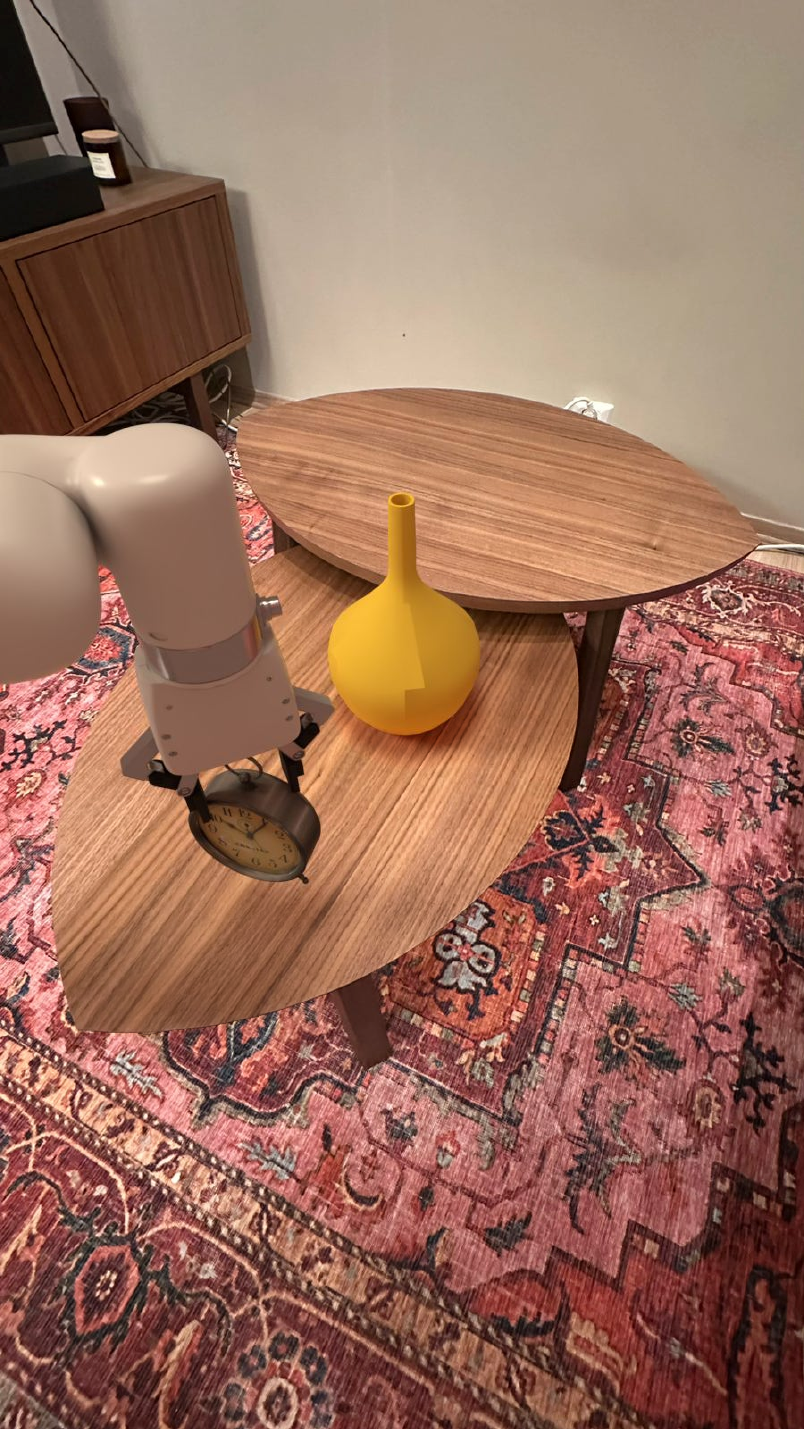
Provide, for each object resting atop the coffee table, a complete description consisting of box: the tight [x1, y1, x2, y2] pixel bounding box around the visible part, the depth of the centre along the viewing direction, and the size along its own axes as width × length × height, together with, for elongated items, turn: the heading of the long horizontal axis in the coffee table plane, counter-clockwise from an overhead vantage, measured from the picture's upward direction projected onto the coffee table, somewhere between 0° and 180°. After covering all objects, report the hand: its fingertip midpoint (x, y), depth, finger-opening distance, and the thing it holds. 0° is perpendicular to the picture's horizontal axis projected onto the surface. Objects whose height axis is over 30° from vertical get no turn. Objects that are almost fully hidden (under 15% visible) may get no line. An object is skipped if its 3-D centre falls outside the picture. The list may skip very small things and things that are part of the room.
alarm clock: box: [187, 756, 322, 885], centre depth 59 cm, size 11×5×16 cm, turn 73°
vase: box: [327, 492, 482, 736], centre depth 78 cm, size 18×18×30 cm
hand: (248, 793), depth 56 cm, fingers closed on alarm clock, 6 cm apart
